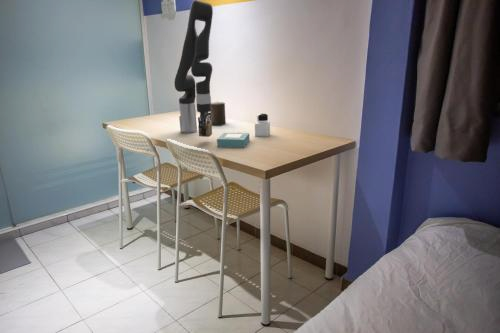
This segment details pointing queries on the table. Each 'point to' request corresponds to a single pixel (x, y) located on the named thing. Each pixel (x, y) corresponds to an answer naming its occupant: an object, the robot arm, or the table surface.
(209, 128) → the walnut block
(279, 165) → the table surface
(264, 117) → the medicine bottle
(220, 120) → the pillar candle
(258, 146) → the table surface
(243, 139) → the teal base
